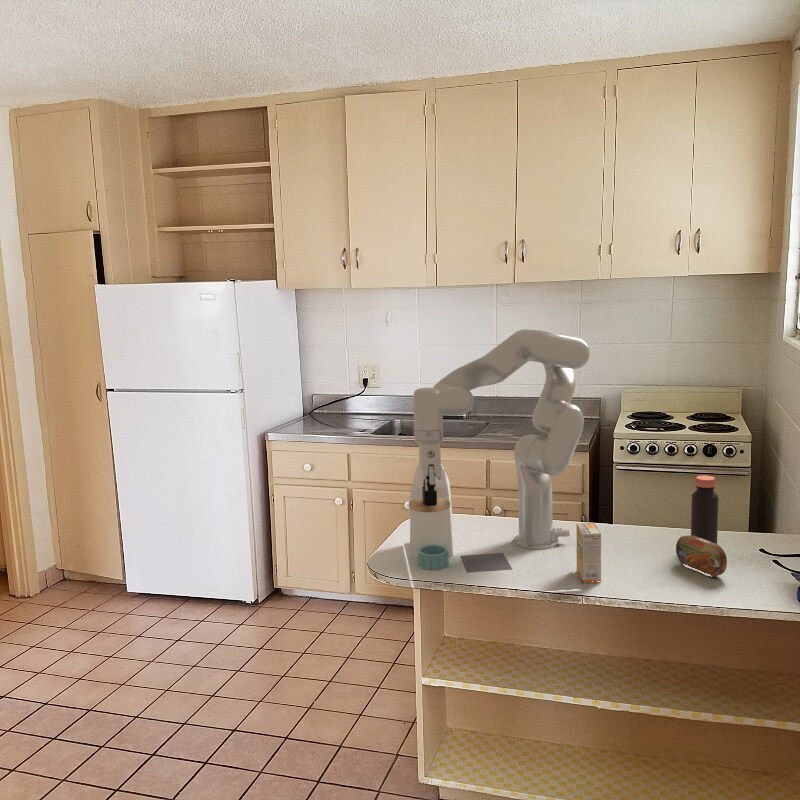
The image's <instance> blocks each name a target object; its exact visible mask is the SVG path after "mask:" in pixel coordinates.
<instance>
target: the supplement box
mask: <svg viewBox="0 0 800 800" xmlns="http://www.w3.org/2000/svg"><path fill="white" fill-rule="evenodd" d="M576 571H577V574H578V575H579V577H580V578H581V581H583V582H592V581H593V582H597V581H601V582H602V532H601V531H600V529H599V528H598V526H597V525H596V524H595V522H578V523H576ZM583 582H582V583H583Z"/></svg>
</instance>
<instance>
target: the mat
mask: <svg viewBox="0 0 800 800" xmlns="http://www.w3.org/2000/svg"><path fill="white" fill-rule="evenodd" d="M459 556H460V558H461V561H462V563H463V564H462V565H463V566H464V568H465V571H466V573H481V572H493V571H494V572H495V571H496V572H497V571H510V570H511V571H512V570H513V568H512V565H511V564H510V562H509V560H508V559H507V557H506V556H505V554H504V552H494V553H493V552H492V553H480V554H465V555H459Z"/></svg>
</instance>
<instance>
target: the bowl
mask: <svg viewBox="0 0 800 800" xmlns="http://www.w3.org/2000/svg"><path fill="white" fill-rule="evenodd" d="M449 557H450V556H448V548H447V547H444V546H441V545H426V546H423V547H421V548H419V549H418V556H417V560H418V561H417V563H418V565H417V566H418V567H419V568H420V569H423V570H425V571H426V570H427V571H440V570H443V569H446V568H447V567H448V566H450V562H449V561H450V559H449Z"/></svg>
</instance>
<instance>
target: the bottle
mask: <svg viewBox="0 0 800 800" xmlns="http://www.w3.org/2000/svg"><path fill="white" fill-rule="evenodd" d="M715 486H716V478H715V477H714V476H712V475H711V476H710V475H698V476H696V477H695V487H696V490H695V491H694V492H693V493H692V494H691V505H690V506H691V509H690V510H691V514H690V517H691V519H690V535H693V536H697V537H699V538H702V539H704V540H707V541H710V542H712V543H715V544H717V545H718V531H719V530H718V527H719V495H718V494H717V493H716V491H714V489H715V488H716V487H715Z"/></svg>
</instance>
